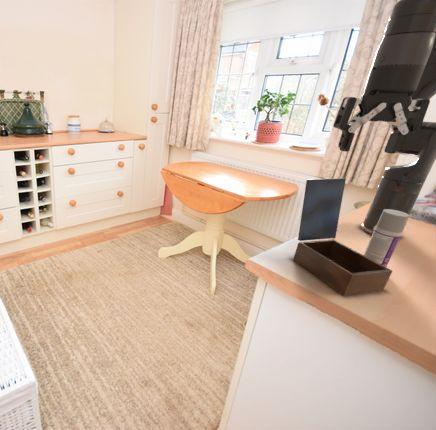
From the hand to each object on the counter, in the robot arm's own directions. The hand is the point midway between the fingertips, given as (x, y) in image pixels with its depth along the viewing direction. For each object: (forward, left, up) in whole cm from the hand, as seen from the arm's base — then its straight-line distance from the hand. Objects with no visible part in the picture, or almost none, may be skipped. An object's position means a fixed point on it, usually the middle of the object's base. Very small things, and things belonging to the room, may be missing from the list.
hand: (366, 151), depth 60 cm
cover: (-3, -4, -15) cm, 16 cm away
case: (+1, +2, -28) cm, 29 cm away
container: (-8, +9, -29) cm, 31 cm away
